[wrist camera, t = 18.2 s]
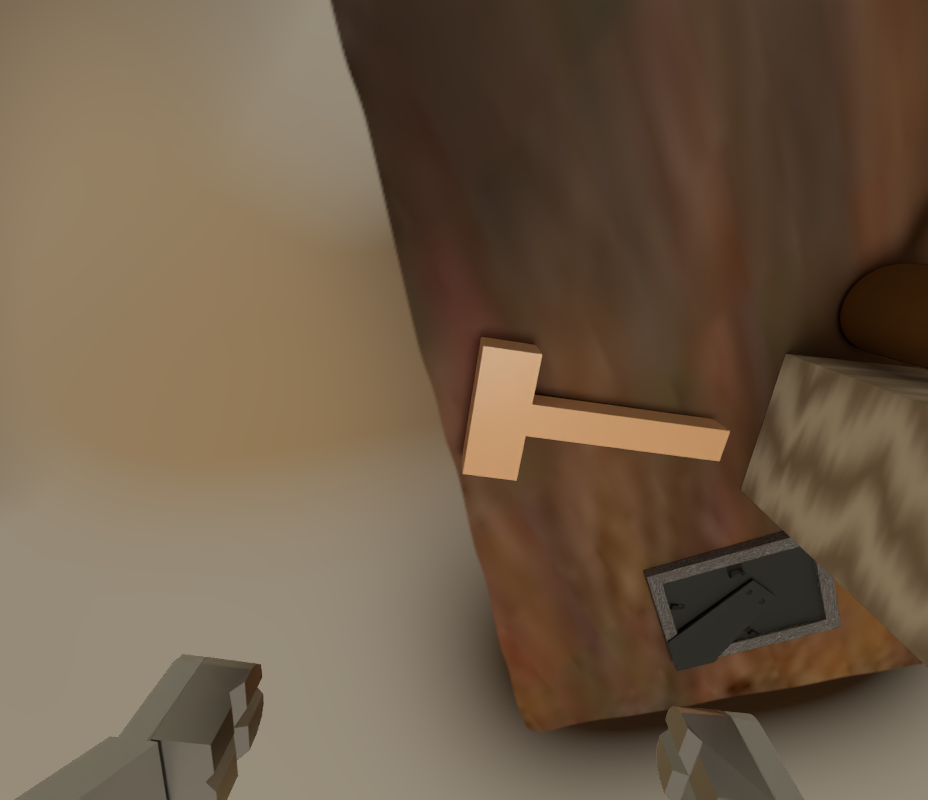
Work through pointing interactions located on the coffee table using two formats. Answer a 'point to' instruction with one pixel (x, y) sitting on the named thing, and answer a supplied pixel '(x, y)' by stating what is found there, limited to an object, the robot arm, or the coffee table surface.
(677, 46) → the coffee table surface
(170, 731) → the robot arm
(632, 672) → the coffee table surface
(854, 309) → the mug
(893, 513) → the pedestal
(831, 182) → the coffee table surface
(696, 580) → the picture frame
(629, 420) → the t bar
